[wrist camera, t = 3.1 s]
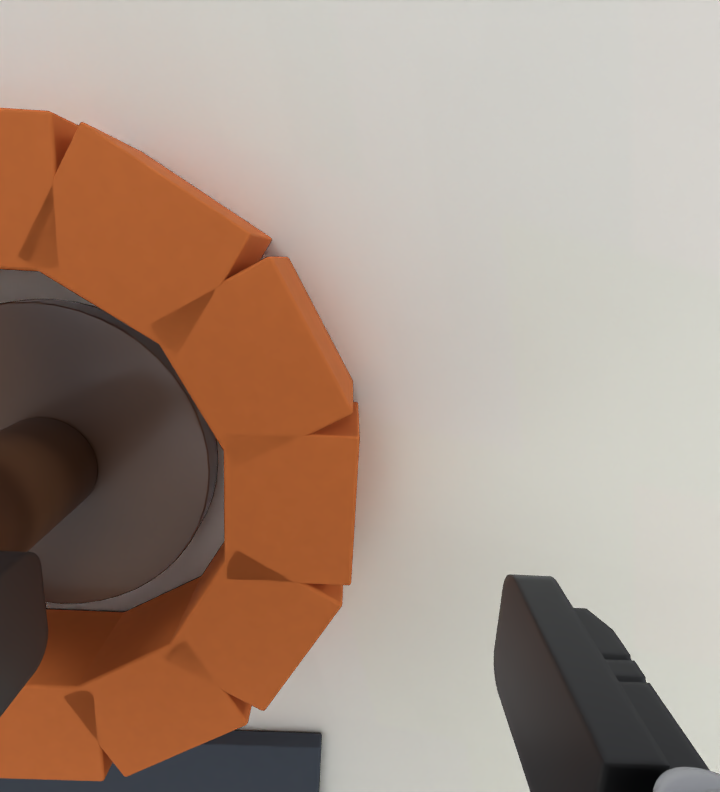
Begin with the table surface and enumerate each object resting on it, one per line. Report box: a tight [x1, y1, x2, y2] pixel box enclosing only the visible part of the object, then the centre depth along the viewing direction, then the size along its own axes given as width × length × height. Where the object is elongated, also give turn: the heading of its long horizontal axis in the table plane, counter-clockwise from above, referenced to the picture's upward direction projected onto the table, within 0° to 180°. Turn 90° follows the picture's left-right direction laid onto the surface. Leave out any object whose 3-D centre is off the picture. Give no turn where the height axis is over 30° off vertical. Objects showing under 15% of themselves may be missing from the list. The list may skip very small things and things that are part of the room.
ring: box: [0, 108, 360, 781], centre depth 14 cm, size 17×17×3 cm
